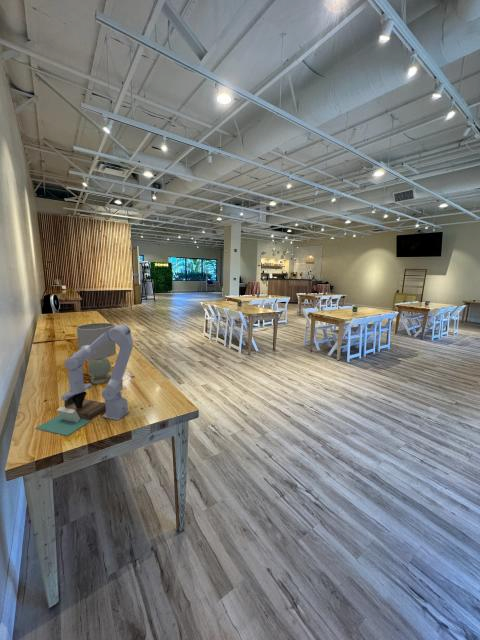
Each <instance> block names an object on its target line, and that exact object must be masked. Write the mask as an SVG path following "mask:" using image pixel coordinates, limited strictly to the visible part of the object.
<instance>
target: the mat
mask: <svg viewBox="0 0 480 640" xmlns="http://www.w3.org/2000/svg"><path fill="white" fill-rule="evenodd" d="M91 422H92V419H91V420H87V419H82V418H80V420H79V421H78V422H77V423H76V422H72V421H67V420H62V419H61V417H60V416H59V415H57V416H55V417H53V418H51V419H50V420H48V421H46V422H44V423H43V424H40V425H39V426H37V427H35V429H36V430H39V431H44V432H48V433H53V434H56V435H61V436H66V437H68V436H71V434H73V433H75V432H77V431H78V430H79V429H81V428H83V427H84V426H86V425H88V424H89V423H91Z"/></svg>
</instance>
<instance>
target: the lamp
mask: <svg viewBox="0 0 480 640" xmlns="http://www.w3.org/2000/svg"><path fill="white" fill-rule="evenodd" d="M113 327H115V324H114V323H109V322H95V323H94V322H93V323H87V324H82V325H79V326H77V327H76V336H77V343H78V351H79V350H80V347H81V346H85V345H91V344H92V343H93V342H94V341H95V340H96V339H97V338H99V337H100V336H101V335H102V334H103V333H105V332H107V331H108V330H110V329H111V328H113ZM116 348H117V347H116V343H115V342H113V341H112V340H111V341H106V342H105V343H104V344H102V345H101V346H100V347H98V348H97V349H96V350H95V354H94V355H93V356H92V357H90V358H89V359H88V360H89V362H88V365H87V372H88V374H89V375H90V384H92V385H101V384H105V383H108V382H109V380H110V378H111V375H110V371H111V369H112V363H111V361H110V360H109V359H108V358H109V357H110V358H111V357H112V356H114V355H116V353H117V349H116ZM88 360H87V361H88Z"/></svg>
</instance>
